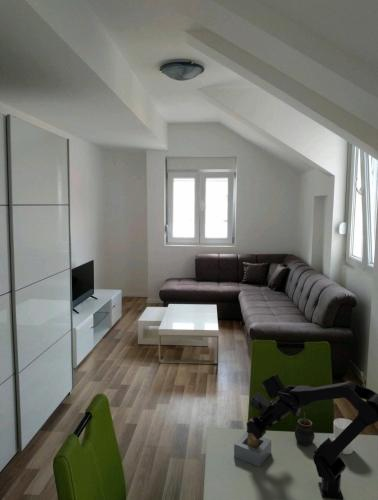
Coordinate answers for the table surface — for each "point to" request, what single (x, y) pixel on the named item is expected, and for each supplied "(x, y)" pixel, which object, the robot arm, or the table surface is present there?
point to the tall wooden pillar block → (252, 440)
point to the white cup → (338, 428)
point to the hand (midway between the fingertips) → (249, 429)
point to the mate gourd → (304, 431)
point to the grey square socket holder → (252, 450)
